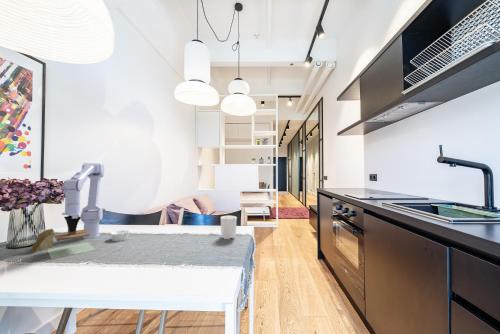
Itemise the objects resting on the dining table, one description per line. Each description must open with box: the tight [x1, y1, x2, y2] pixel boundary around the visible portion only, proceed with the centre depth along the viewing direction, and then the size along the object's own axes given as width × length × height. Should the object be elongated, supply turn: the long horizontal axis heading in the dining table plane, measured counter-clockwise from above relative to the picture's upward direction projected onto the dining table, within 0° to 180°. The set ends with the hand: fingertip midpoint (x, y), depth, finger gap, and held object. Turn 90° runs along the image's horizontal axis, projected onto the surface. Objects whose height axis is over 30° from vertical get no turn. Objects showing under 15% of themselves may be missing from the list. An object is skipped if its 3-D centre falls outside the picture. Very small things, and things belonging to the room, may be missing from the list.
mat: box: [47, 241, 95, 260], centre depth 106 cm, size 16×16×1 cm
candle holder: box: [220, 215, 238, 240], centre depth 129 cm, size 10×10×12 cm
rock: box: [29, 228, 55, 254], centre depth 106 cm, size 11×9×10 cm
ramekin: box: [110, 229, 130, 242], centre depth 123 cm, size 9×9×4 cm
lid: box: [54, 226, 90, 242], centre depth 106 cm, size 12×12×5 cm
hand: (72, 230), depth 106 cm, fingers closed on lid, 3 cm apart
